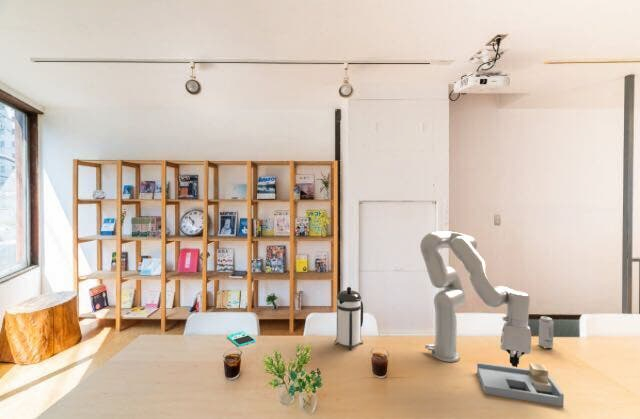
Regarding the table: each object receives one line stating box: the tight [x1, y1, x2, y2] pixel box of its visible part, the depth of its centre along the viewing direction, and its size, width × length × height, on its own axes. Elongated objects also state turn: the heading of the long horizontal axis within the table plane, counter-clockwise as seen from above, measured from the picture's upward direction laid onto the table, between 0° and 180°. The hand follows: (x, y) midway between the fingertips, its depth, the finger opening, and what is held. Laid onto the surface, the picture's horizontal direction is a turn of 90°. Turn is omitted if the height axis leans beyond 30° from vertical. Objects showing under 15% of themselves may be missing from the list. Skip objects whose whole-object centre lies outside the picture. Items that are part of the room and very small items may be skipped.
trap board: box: [476, 361, 565, 407], centre depth 128 cm, size 26×16×4 cm, turn 73°
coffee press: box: [333, 286, 364, 351], centre depth 167 cm, size 17×16×30 cm
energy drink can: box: [538, 315, 554, 349], centre depth 164 cm, size 6×6×15 cm
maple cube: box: [528, 362, 549, 384], centre depth 129 cm, size 5×5×5 cm
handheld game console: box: [227, 330, 257, 347], centre depth 172 cm, size 10×16×1 cm, turn 39°
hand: (513, 365), depth 132 cm, fingers closed
